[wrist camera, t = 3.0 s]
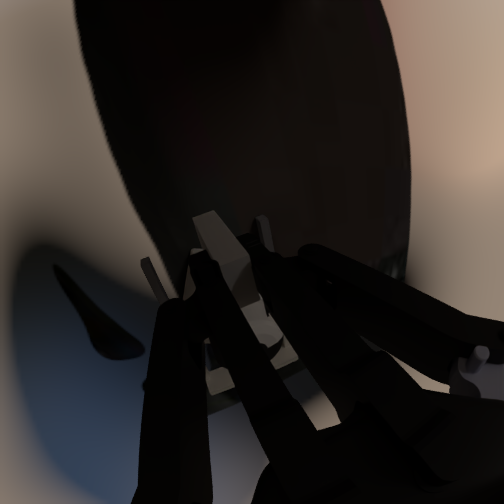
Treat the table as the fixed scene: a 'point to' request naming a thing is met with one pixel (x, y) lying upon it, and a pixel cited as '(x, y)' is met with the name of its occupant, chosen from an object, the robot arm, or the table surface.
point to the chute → (221, 377)
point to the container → (256, 318)
